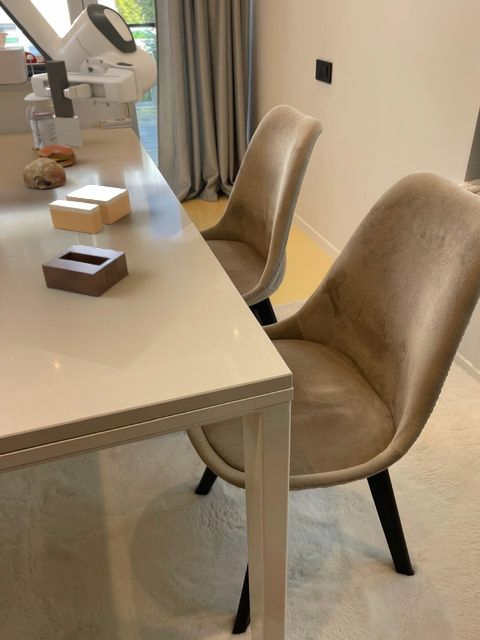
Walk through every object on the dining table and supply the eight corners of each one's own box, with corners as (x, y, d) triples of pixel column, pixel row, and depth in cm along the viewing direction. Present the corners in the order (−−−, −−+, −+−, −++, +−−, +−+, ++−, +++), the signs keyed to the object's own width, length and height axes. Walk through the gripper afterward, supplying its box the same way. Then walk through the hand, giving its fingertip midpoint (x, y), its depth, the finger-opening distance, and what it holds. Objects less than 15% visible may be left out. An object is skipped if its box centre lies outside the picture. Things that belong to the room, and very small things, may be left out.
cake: (70, 218, 119) (65, 195, 116) (92, 206, 125) (88, 184, 122) (110, 224, 116) (106, 201, 113) (131, 212, 122) (128, 189, 119)
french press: (71, 143, 174) (54, 52, 160) (51, 152, 165) (31, 57, 151) (43, 141, 176) (23, 52, 162) (22, 151, 167) (-1, 56, 153)
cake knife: (55, 145, 104) (38, 61, 96) (63, 142, 106) (47, 59, 98) (77, 147, 103) (62, 62, 95) (85, 144, 104) (70, 60, 97)
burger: (68, 157, 160) (64, 140, 158) (82, 164, 154) (79, 146, 152) (34, 163, 155) (30, 146, 152) (48, 171, 149) (44, 153, 146)
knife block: (46, 287, 92) (41, 264, 90) (80, 265, 99) (75, 244, 97) (97, 296, 89) (93, 274, 87) (128, 273, 96) (125, 252, 94)
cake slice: (53, 227, 114) (48, 204, 112) (62, 222, 117) (57, 199, 114) (94, 234, 111) (90, 209, 109) (103, 228, 114) (99, 204, 111)
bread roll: (29, 204, 137) (23, 178, 131) (22, 176, 142) (16, 149, 135) (71, 198, 141) (67, 173, 134) (62, 171, 145) (58, 145, 139)
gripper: (55, 61, 111) (6, 71, 100) (145, 65, 105) (102, 76, 94) (62, 96, 114) (15, 108, 104) (149, 102, 108) (108, 116, 97)
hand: (57, 93), depth 99 cm, fingers closed on cake knife, 2 cm apart
